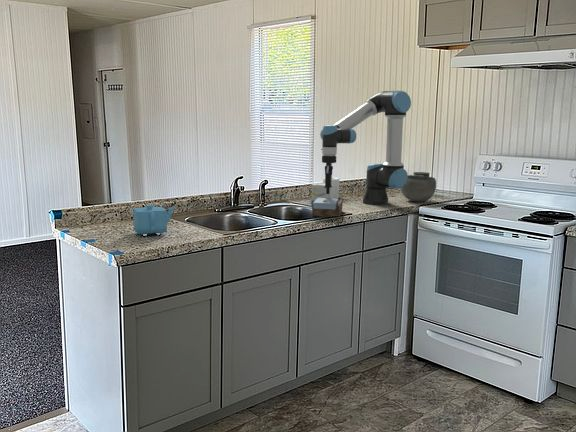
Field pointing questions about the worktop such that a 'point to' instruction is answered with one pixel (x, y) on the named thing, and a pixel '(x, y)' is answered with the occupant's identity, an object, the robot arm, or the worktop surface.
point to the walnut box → (328, 211)
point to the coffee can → (421, 174)
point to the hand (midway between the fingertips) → (327, 199)
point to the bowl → (419, 188)
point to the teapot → (151, 219)
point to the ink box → (317, 191)
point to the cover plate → (325, 203)
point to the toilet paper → (334, 187)
